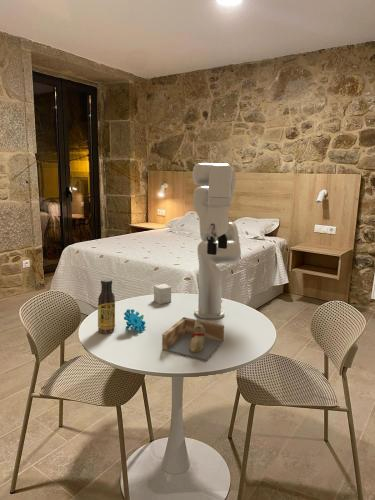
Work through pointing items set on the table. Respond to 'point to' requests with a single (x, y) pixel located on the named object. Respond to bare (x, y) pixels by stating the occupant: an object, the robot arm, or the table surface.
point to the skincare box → (162, 293)
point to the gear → (134, 320)
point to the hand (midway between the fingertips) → (217, 251)
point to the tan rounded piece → (197, 338)
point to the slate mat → (184, 343)
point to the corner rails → (190, 331)
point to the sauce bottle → (106, 307)
